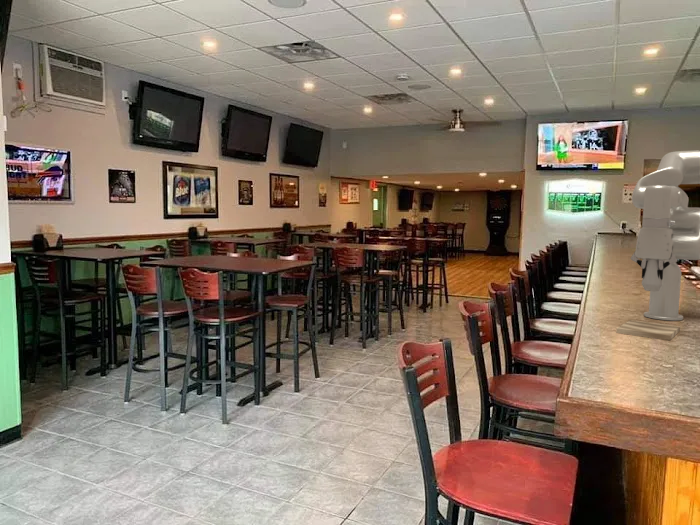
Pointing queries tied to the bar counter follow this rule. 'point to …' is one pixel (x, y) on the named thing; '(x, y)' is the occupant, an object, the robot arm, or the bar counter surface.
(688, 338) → the bar counter surface
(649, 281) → the salt shaker
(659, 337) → the serving board
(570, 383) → the bar counter surface
